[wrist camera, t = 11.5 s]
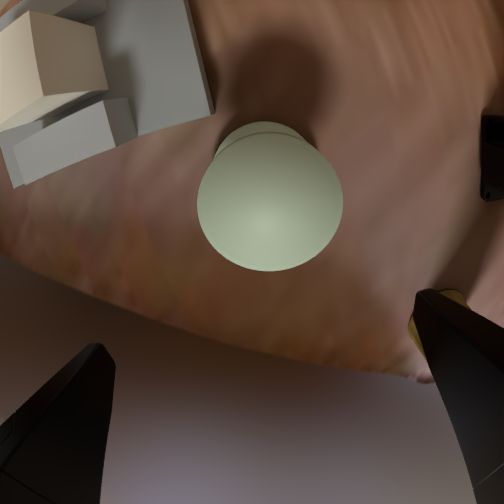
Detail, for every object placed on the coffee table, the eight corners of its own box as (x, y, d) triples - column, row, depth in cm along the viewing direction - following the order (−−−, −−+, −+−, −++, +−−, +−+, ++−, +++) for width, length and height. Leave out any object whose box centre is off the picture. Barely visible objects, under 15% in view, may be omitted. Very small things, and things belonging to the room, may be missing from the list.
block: (94, 27, 11) (29, 10, 6) (108, 89, 13) (43, 96, 8) (39, 58, 12) (-32, 61, 7) (52, 116, 14) (-17, 137, 8)
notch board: (179, -35, 11) (158, -69, 7) (215, 112, 16) (202, 120, 12) (0, 58, 13) (-47, 62, 8) (30, 179, 17) (-14, 205, 13)
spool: (306, 113, 16) (333, 123, 11) (321, 208, 19) (347, 257, 14) (202, 133, 17) (179, 154, 11) (226, 226, 19) (218, 281, 14)
